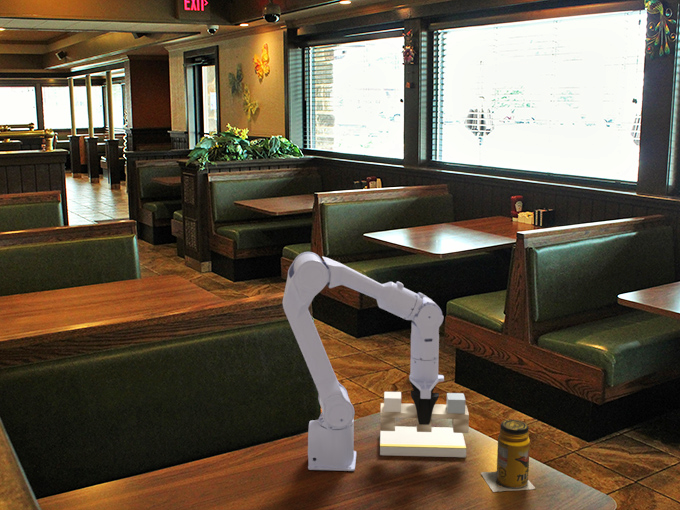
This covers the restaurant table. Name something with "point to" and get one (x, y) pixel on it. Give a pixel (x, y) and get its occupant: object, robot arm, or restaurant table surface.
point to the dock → (422, 442)
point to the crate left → (392, 401)
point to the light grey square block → (455, 403)
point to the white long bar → (439, 412)
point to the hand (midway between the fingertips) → (423, 418)
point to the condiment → (511, 459)
